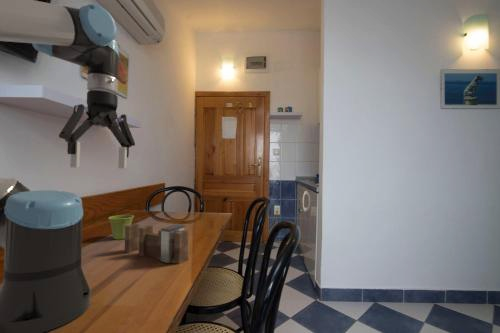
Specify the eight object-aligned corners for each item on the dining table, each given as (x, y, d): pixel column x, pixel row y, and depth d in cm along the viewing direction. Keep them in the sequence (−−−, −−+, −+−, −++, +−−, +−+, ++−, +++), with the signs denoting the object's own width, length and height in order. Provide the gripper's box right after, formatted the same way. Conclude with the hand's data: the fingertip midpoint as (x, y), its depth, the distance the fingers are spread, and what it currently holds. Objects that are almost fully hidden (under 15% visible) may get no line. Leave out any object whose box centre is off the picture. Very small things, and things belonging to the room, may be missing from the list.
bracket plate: (168, 263, 75) (169, 229, 75) (160, 261, 77) (161, 228, 77) (184, 255, 82) (184, 224, 82) (176, 254, 83) (176, 223, 83)
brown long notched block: (179, 263, 76) (179, 233, 76) (124, 252, 86) (125, 225, 86) (188, 259, 79) (188, 230, 79) (134, 249, 89) (134, 223, 89)
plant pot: (104, 241, 98) (105, 219, 98) (111, 235, 107) (112, 215, 107) (130, 240, 100) (131, 218, 100) (135, 234, 109) (136, 214, 109)
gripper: (61, 75, 59) (58, 166, 58) (147, 102, 81) (146, 168, 81) (44, 80, 62) (41, 166, 62) (131, 105, 84) (130, 168, 84)
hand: (100, 168), depth 71 cm, fingers open, 13 cm apart
